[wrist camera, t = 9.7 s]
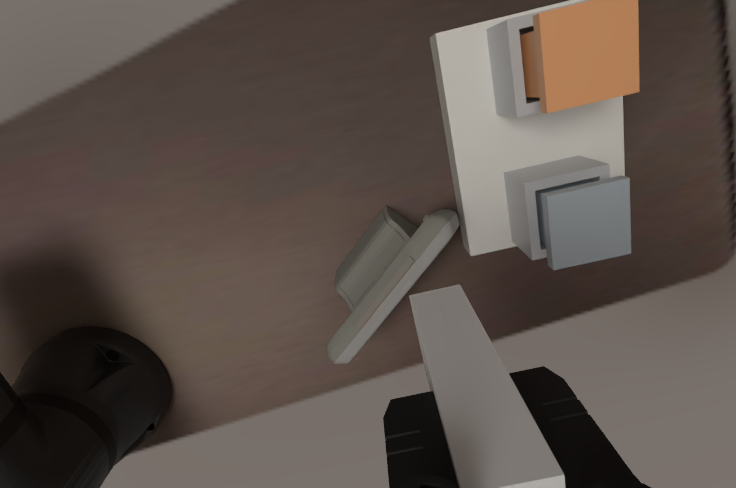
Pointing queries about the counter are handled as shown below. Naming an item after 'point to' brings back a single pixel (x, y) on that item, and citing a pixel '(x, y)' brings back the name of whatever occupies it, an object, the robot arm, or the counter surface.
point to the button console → (513, 135)
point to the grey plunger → (585, 221)
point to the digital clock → (385, 273)
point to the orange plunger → (582, 54)
